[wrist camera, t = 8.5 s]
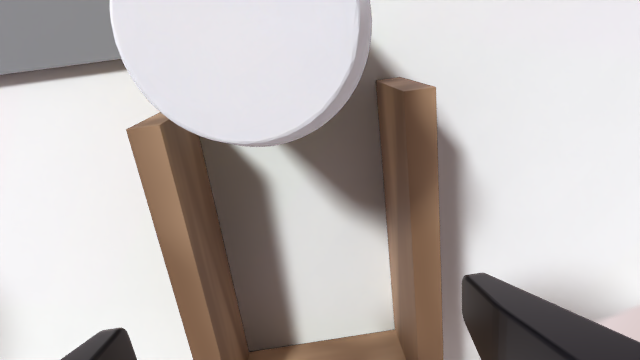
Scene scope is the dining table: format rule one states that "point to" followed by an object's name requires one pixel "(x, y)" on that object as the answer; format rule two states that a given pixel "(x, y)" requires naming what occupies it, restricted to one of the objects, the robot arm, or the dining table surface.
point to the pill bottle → (245, 62)
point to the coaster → (54, 34)
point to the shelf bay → (211, 260)
